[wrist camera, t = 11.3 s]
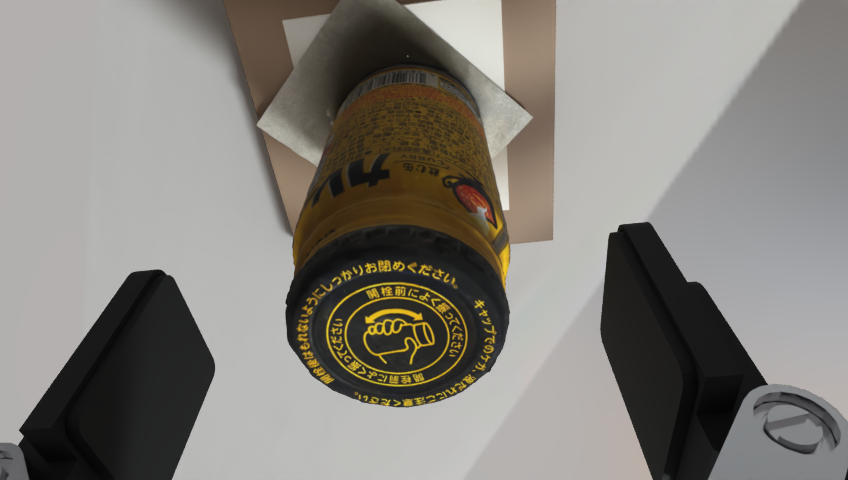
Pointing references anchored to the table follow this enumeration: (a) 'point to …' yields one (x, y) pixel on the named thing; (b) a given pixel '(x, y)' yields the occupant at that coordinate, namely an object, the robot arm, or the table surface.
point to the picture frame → (440, 12)
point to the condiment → (395, 209)
